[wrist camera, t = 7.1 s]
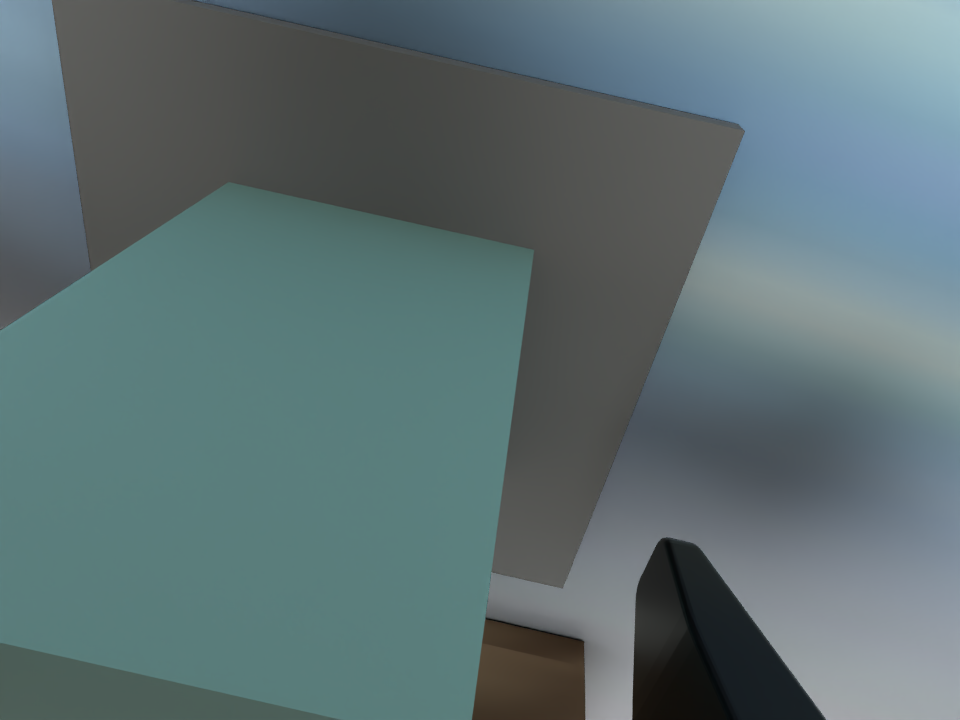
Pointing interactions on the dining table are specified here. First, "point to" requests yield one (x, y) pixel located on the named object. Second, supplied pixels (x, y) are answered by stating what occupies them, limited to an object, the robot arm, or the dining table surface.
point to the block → (258, 469)
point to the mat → (419, 199)
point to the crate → (529, 675)
